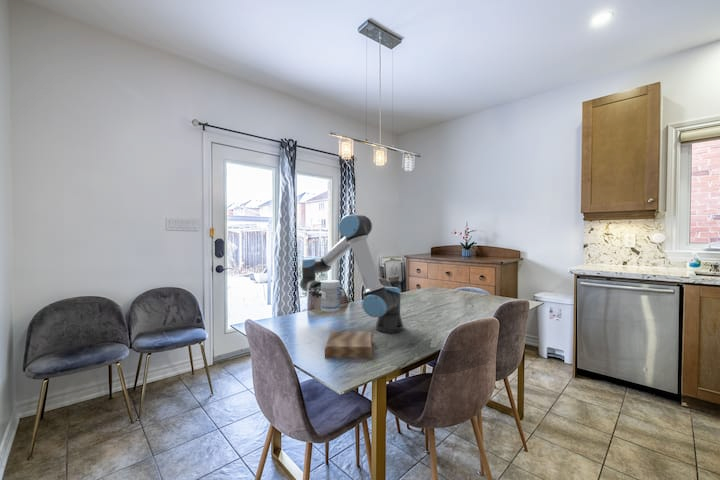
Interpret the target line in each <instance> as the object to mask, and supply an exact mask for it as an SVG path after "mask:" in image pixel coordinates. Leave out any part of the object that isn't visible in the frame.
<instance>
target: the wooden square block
mask: <svg viewBox="0 0 720 480" xmlns="http://www.w3.org/2000/svg"><path fill="white" fill-rule="evenodd" d="M371 332H372V331H336V330H335V331H332V330H331V331H330V333H329V337H328V339H327V342H326V344H325V347H324V359H339V360H340V359H344V360H345V359H347V360H348V359H349V360H350V359H353V360H354V359H355V360H372V359H373V335H372V333H371Z"/></svg>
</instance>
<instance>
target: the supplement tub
mask: <svg viewBox="0 0 720 480" xmlns="http://www.w3.org/2000/svg"><path fill="white" fill-rule="evenodd" d="M320 282H321V291H322V292H324V293H326V299H324V298H321V297H320V309H321V311H324V312H327V313H329V312H337V311H339V310H340V308H341V306H340V305H341V299H340V298H341V296H340V288H341V287H340V286H341V284H340V283H341V282H340V280H338V279H326V280H325V279H324V280H321V281H320Z"/></svg>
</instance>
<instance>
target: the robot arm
mask: <svg viewBox="0 0 720 480" xmlns="http://www.w3.org/2000/svg"><path fill="white" fill-rule="evenodd" d="M372 229H373V222H372V220H371V219H370V218H369V217H367V216H366V215H362V214H359V215H358V214H354V213H352V214H347V215H344V216H343V217H342V218H341V219H340V221H339V224H338V231H339V233H340V235H341V236H342V238H341V239H340V240H339V241H338V242H337V243H336V244H335V245H334V246H332V248H330V250H329V251H328V252H327V253H325V254H324V255H323V256H322V257H321V258H320V259H319V260H316V259H315V258H313V257H307V258H306V257H305V258H303V259H302V263H301V264H302V265H301V267H302V268H301V270H302V272H301V273H302V274H301V275H302V277H301V280H300V283H299V287H300V288H301V289H302V291H305V292H307V293H308V294H310V295H311V296H312V297H316V298H318V299H319V298H320V299H321V298H324V299H326V293H324V292H322V291H321V281H318V280H316V274H320V273H326V272H329V271H330V270H331V269H332V266H333V265H334V264H335V263H336V262H338V261H339V260H340V258H342V257H343V256H344V255H346V253H348V251H349V250H352V253H353V256H354V260H355V263H356V265H357V269H358V273H359V275H360V278H361V282H362V284H363V285H362V286H363V288H364V290H363V292H362V295H363V300H362V309H363V311H364V312H365V314H367V315H368V316H369V317H372V318H377V320H376V323H375V330H377V331H378V332H380V333H386V334H391V333H392V334H394V333H400V332H402V331H403V330H404V323H403V322H404V321H403V320H402V317H401V295H402V294H401V289H400V288H399V287H397V286H396V287H395V286H385V285H383V284H382V283H381V282H380V278H379V275H378V272H377V269H376V266H375V263H374V259H373V257H372V253H371V250H370V247H369V244H368V241H367V240H368V237H369V235H370V233H371V232H372ZM342 289H343V288H342V287H340V297H345V290H342Z"/></svg>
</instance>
